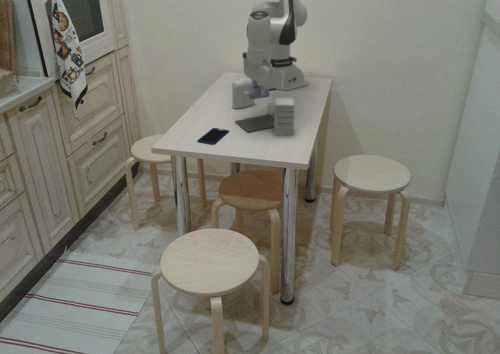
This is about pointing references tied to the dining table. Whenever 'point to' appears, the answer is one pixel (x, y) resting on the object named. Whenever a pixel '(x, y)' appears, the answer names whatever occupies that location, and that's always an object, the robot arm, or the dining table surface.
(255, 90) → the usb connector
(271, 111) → the white connector
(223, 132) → the cell phone
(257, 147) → the dining table surface
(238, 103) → the photo printer
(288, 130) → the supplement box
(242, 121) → the rubber mat
